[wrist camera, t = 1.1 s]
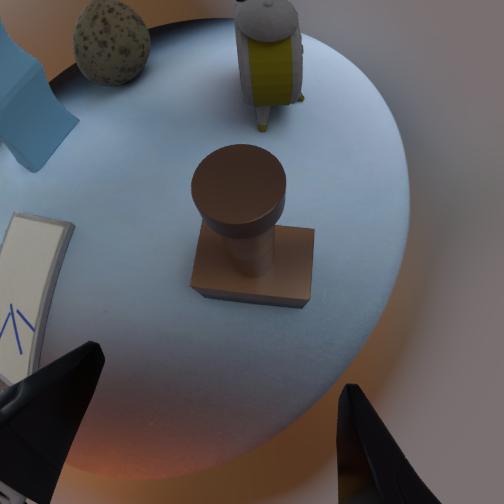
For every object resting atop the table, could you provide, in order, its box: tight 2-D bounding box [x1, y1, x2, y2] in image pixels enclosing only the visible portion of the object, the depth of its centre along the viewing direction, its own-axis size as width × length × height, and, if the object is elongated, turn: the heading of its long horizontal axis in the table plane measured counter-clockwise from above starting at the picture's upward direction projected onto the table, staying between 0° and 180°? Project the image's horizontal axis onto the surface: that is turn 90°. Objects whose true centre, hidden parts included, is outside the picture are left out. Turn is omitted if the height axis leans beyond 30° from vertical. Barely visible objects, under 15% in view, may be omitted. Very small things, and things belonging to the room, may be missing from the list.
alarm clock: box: [234, 0, 305, 132], centre depth 23 cm, size 12×7×15 cm, turn 3°
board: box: [0, 211, 75, 387], centre depth 24 cm, size 20×12×1 cm, turn 168°
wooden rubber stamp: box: [190, 144, 315, 309], centre depth 17 cm, size 5×8×14 cm, turn 83°
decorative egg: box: [73, 0, 150, 86], centre depth 27 cm, size 11×11×15 cm
